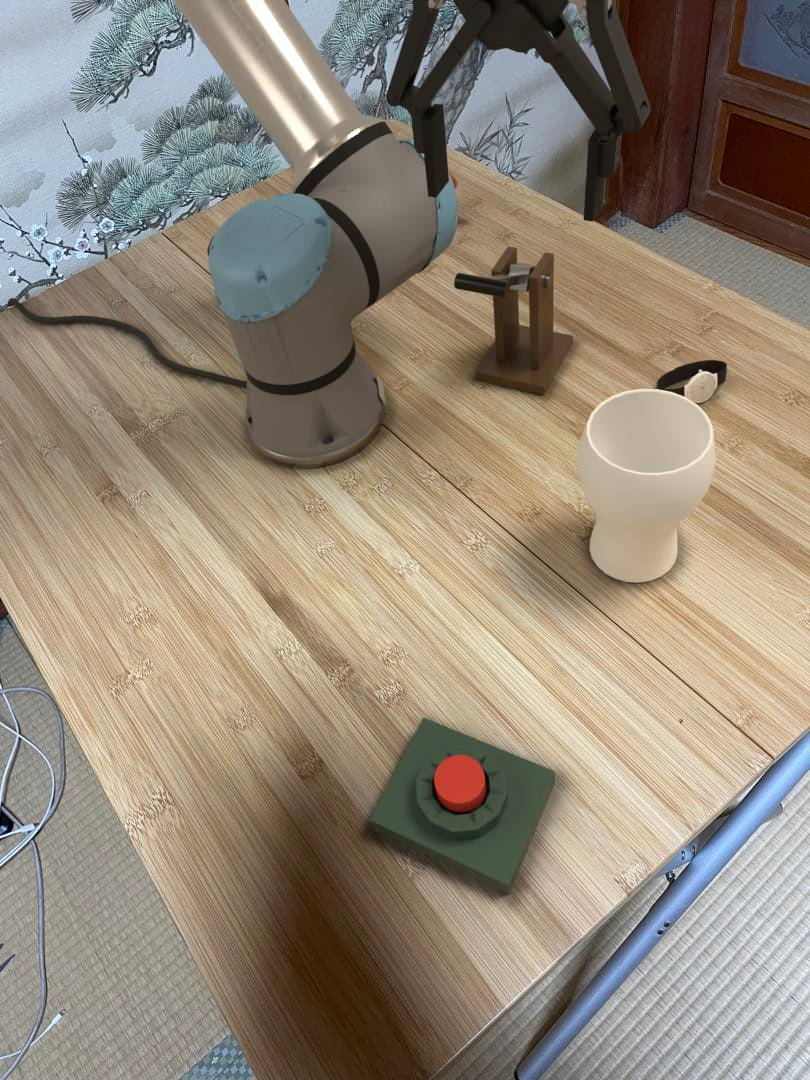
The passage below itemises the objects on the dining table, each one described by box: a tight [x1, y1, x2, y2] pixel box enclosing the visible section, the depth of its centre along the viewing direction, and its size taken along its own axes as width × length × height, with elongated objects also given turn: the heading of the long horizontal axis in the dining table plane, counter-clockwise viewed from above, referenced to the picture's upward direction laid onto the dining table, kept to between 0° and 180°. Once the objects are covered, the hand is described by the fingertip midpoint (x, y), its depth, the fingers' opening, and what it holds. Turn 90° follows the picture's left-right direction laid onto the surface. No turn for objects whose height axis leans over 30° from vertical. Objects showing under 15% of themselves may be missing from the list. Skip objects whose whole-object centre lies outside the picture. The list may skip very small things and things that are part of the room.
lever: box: [453, 262, 537, 298], centre depth 81 cm, size 13×5×2 cm, turn 153°
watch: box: [656, 359, 728, 404], centre depth 86 cm, size 8×5×4 cm, turn 112°
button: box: [434, 755, 486, 812], centre depth 60 cm, size 4×4×2 cm
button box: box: [369, 717, 556, 895], centre depth 62 cm, size 11×9×4 cm
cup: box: [576, 388, 717, 584], centre depth 70 cm, size 11×11×15 cm
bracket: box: [475, 246, 574, 396], centre depth 89 cm, size 9×8×13 cm
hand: (513, 200), depth 69 cm, fingers open, 13 cm apart
